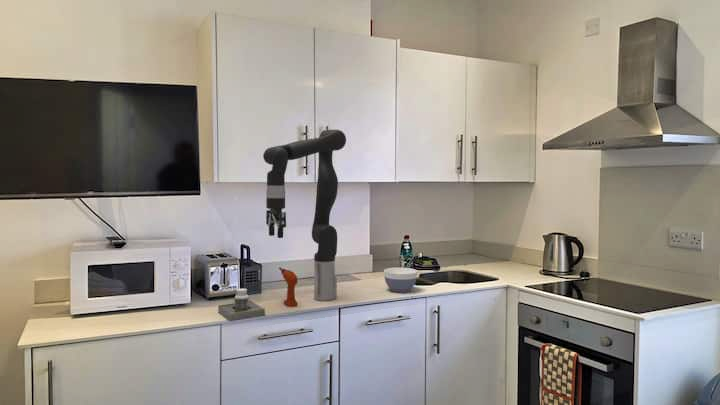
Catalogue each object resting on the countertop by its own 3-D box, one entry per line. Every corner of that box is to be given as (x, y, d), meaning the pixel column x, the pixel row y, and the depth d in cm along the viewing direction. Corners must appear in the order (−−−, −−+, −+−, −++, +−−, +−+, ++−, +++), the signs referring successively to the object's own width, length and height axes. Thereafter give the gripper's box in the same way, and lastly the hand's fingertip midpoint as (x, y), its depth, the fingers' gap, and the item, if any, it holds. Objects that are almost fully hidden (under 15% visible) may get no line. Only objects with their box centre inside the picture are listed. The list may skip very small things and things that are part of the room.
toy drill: (283, 293, 230) (285, 261, 227) (299, 308, 213) (300, 273, 211) (273, 294, 227) (274, 262, 225) (288, 309, 211) (289, 275, 209)
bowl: (422, 289, 246) (423, 269, 245) (407, 295, 232) (407, 275, 232) (394, 285, 254) (394, 266, 254) (377, 291, 241) (377, 271, 241)
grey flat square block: (251, 307, 211) (251, 300, 210) (264, 315, 199) (264, 308, 199) (218, 312, 203) (218, 305, 203) (230, 320, 191) (230, 313, 191)
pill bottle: (249, 315, 199) (249, 290, 199) (235, 316, 197) (235, 291, 197) (247, 311, 204) (247, 287, 204) (234, 312, 202) (233, 288, 202)
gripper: (292, 197, 200) (292, 238, 201) (277, 195, 212) (277, 234, 213) (274, 197, 196) (274, 239, 197) (260, 196, 208) (260, 235, 209)
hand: (275, 236), depth 205 cm, fingers open, 8 cm apart
